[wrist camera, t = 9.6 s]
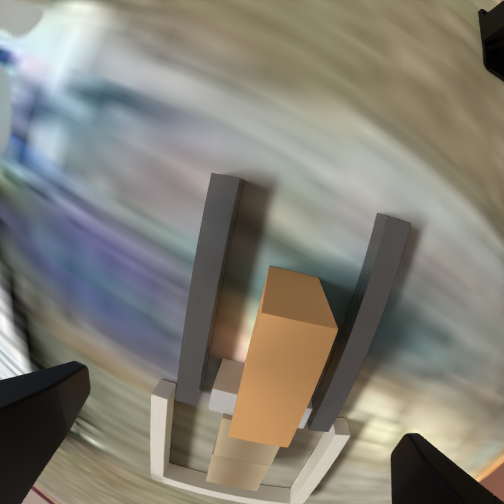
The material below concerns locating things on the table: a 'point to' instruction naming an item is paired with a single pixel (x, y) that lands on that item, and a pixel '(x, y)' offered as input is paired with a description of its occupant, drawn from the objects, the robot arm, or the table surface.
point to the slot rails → (355, 326)
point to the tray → (263, 500)
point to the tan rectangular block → (278, 361)
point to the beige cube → (242, 446)
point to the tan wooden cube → (235, 472)
